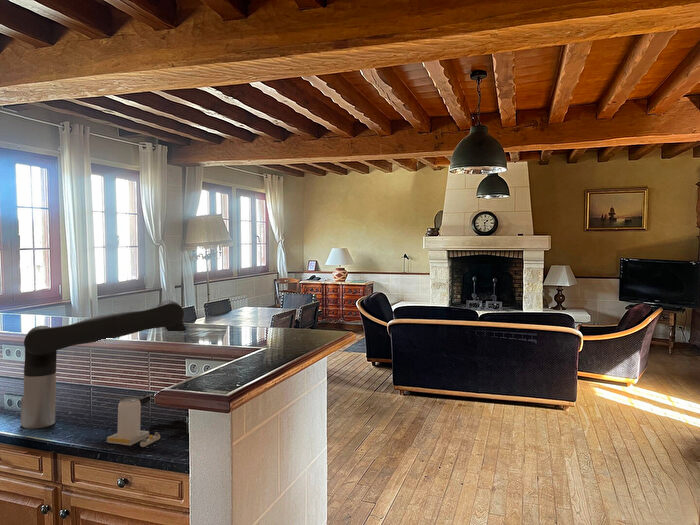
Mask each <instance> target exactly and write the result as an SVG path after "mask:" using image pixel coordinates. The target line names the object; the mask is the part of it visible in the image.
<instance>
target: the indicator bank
mask: <svg viewBox="0 0 700 525" xmlns="http://www.w3.org/2000/svg"><path fill="white" fill-rule="evenodd" d="M160 439H161V434H160V432H158V431H156V432H154V435H153V434H149V437H147V438H143V439H142V440H141V441H139V446H140V447H143V448H144V447H147V446H148V445H151V444H152V443H154V442H156V441H158V440H160Z"/></svg>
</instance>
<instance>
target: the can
mask: <svg viewBox="0 0 700 525" xmlns="http://www.w3.org/2000/svg"><path fill="white" fill-rule="evenodd" d="M117 405H118V407H117V433H118V438H120V439H128V440H131V439H133V438H135V437H137V436H139V435H140V430H141V412H142V411H141V410H142V408H141V406H142V405H141V403H140V397H137V396H127V397H122V398H120V399H119V403H118V404H117Z"/></svg>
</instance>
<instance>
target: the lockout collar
mask: <svg viewBox="0 0 700 525" xmlns="http://www.w3.org/2000/svg"><path fill="white" fill-rule="evenodd" d="M149 435H150V431H148V430H141V429H140V435H139V436H137V437H135V438H133V439H131V440H128V439H120V438H118V432H116V433H114V434H112V435H110V436H107V437H106V443H108V444H116V445H117V444H118V445H124V446H133V445H134V444H136V443H140V442H142V439H143V438H147V439H148V438H149Z"/></svg>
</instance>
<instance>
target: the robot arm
mask: <svg viewBox="0 0 700 525" xmlns="http://www.w3.org/2000/svg"><path fill="white" fill-rule="evenodd" d="M184 316H185V311H184V308H183V307H182V306H181V305H180V304H179V303H177V302H176V301H173V300H170V299H169V300H162V301H160V302H159V304H158V305H157V306H155V307H151V308H148V309H142V310H124V311H115V312H114V311H113V312H109V313H103V314H100V315H94V316H91V317H89V318H84V319H83V320H80V321H77V322H75V323H71V324H67V325H61V326H54V327H52V326H51V327H49V326H48V325H38V326H34V327H33V328H32V329H31V328H30V330H28V332H27V334H26V335H25V337H24V341H23V345H24V363H23V364H24V365H23V367H24V368H23V396H22V397H21V398H20V426H21V427H22V428H23V429H30V430H31V429H35V430H36V429H41V428H47V427H51V426H53V425H54V424H55V423H56V393H57V391H56V390H57V387H56V384H57V351H60V350H62V349H66V348H69V347H73V346H77V345H85V344H91V343H96V341H98V340H101V339H106V338H113V339H116V337H118V338H121V337H124V336H128V335H132V334H133V335H134V334H135V333H140V332H143V331H148V330H153V329H159V328H161V329H162V328H165V329H166V331H167V332H168V331H185V330H187V328H186V326H185V324H184V321H183V319H184ZM98 342H99V341H98ZM156 392H157V391H156ZM156 392H155V393H156ZM155 393H154V394H155ZM142 396H143V397H139V401H140V403H141V406H144V405H146V404H148V403H151V402H150V396H154V395H153V394H145V393H143V395H142Z"/></svg>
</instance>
